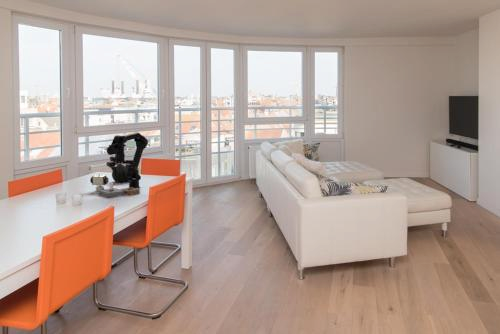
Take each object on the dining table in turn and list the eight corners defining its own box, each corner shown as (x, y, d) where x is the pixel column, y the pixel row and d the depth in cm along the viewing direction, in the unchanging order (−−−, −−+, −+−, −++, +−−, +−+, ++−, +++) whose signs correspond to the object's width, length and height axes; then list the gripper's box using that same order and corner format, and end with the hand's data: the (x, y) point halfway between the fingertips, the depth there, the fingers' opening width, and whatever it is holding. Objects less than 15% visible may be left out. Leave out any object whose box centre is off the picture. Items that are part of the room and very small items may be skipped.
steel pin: (112, 194, 299) (111, 182, 298) (114, 194, 298) (113, 182, 296) (109, 194, 298) (108, 182, 296) (110, 195, 296) (110, 183, 295)
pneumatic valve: (106, 191, 307) (105, 175, 305) (90, 191, 309) (89, 174, 307) (109, 190, 313) (108, 173, 311) (94, 189, 314) (93, 173, 312)
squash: (132, 176, 336) (130, 160, 344) (112, 178, 332) (110, 162, 339) (132, 185, 348) (130, 170, 355) (113, 187, 343) (111, 171, 351)
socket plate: (114, 191, 307) (114, 187, 306) (124, 195, 297) (124, 190, 297) (98, 194, 298) (98, 190, 298) (108, 197, 289) (108, 193, 288)
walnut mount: (132, 191, 309) (132, 187, 308) (139, 193, 302) (139, 189, 301) (120, 193, 303) (120, 189, 302) (128, 195, 296) (127, 191, 295)
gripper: (126, 151, 316) (127, 172, 319) (102, 153, 303) (103, 175, 306) (134, 152, 308) (135, 173, 311) (109, 154, 295) (110, 177, 298)
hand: (121, 175), depth 307 cm, fingers open, 9 cm apart
